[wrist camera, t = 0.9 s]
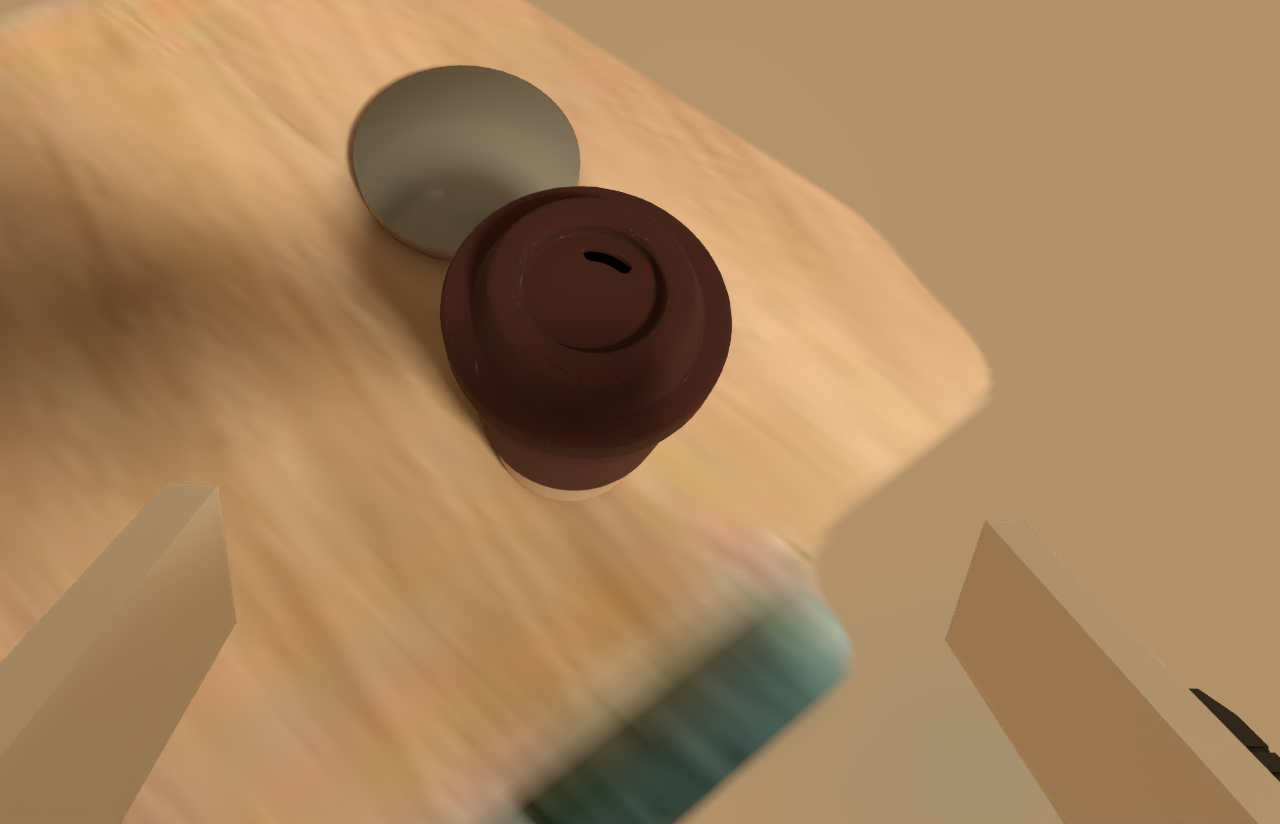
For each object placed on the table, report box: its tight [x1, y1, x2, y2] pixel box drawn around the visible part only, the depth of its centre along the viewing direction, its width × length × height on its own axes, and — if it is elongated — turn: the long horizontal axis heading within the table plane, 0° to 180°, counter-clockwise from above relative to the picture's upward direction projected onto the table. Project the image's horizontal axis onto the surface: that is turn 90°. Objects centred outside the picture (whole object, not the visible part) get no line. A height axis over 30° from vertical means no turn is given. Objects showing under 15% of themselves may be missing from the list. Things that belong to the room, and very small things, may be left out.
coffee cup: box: [440, 186, 732, 501], centre depth 32 cm, size 10×10×15 cm
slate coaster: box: [353, 66, 580, 261], centre depth 43 cm, size 12×12×1 cm
